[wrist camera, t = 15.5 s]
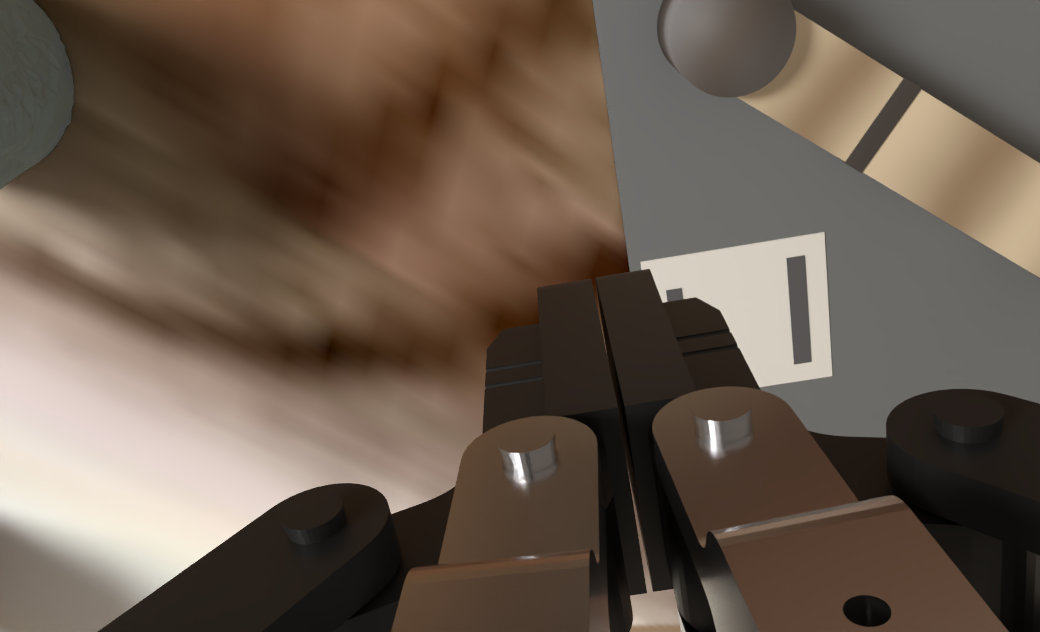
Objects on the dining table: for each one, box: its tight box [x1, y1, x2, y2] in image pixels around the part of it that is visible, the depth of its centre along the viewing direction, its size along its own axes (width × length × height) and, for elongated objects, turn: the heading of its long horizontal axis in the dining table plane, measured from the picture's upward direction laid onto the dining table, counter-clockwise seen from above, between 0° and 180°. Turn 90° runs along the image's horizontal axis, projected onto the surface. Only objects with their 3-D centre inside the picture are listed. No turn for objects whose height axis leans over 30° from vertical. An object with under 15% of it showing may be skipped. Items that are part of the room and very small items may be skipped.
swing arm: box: [657, 0, 1040, 279], centre depth 37 cm, size 23×4×4 cm, turn 61°
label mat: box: [593, 0, 1040, 438], centre depth 41 cm, size 24×28×1 cm
